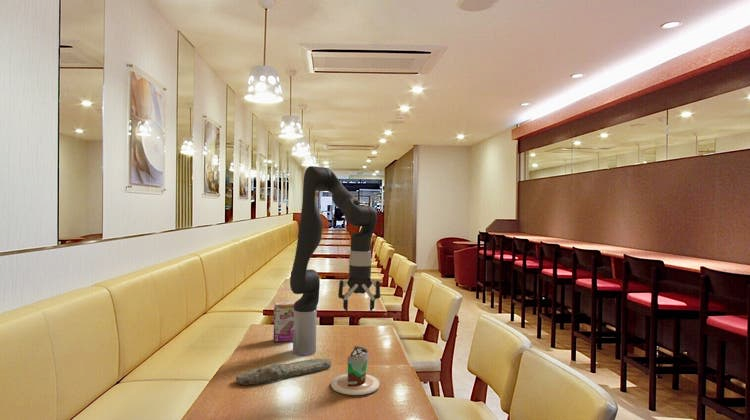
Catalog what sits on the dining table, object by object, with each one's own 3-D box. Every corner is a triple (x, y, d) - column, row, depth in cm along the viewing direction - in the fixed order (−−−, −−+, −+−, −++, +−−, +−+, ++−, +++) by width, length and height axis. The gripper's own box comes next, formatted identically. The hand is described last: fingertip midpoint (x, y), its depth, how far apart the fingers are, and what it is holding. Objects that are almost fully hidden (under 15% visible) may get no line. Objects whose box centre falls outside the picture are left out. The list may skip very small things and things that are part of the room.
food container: (365, 389, 141) (366, 358, 141) (346, 388, 142) (347, 357, 142) (371, 375, 153) (372, 346, 153) (353, 373, 154) (354, 345, 154)
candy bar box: (273, 343, 191) (274, 305, 191) (273, 339, 196) (273, 302, 196) (299, 341, 194) (300, 304, 194) (298, 338, 199) (299, 301, 199)
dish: (332, 398, 138) (332, 393, 138) (329, 377, 154) (329, 373, 154) (383, 395, 140) (383, 390, 140) (375, 376, 156) (375, 371, 156)
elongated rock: (336, 374, 162) (323, 366, 170) (337, 359, 162) (324, 352, 170) (241, 389, 142) (231, 380, 151) (242, 372, 143) (232, 364, 151)
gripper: (379, 262, 157) (377, 307, 157) (338, 261, 155) (337, 307, 156) (382, 265, 150) (380, 313, 150) (340, 264, 148) (338, 313, 148)
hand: (358, 310), depth 153 cm, fingers open, 8 cm apart
